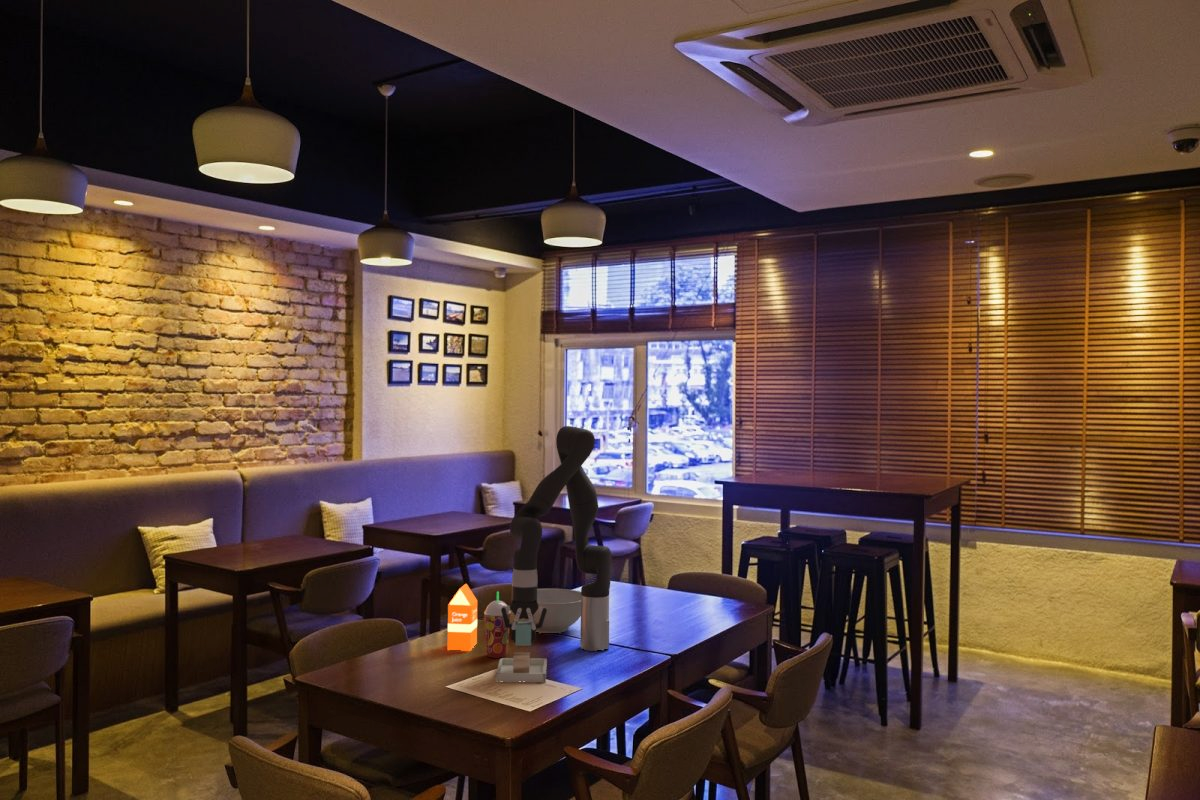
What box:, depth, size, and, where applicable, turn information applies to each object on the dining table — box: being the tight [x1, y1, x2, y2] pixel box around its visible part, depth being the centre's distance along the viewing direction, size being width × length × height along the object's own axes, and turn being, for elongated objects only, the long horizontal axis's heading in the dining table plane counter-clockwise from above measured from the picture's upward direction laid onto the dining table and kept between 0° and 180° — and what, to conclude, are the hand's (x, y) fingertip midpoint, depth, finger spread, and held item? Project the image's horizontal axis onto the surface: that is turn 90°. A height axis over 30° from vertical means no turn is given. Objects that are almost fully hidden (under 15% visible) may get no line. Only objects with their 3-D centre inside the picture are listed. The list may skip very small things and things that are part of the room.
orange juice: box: [446, 583, 479, 652], centre depth 286 cm, size 8×9×20 cm
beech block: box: [513, 651, 531, 673], centre depth 253 cm, size 4×4×6 cm
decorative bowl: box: [521, 588, 581, 634], centre depth 311 cm, size 27×27×12 cm
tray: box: [495, 657, 548, 683], centre depth 257 cm, size 14×16×2 cm
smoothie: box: [483, 591, 512, 659], centre depth 276 cm, size 8×8×20 cm
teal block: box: [514, 621, 532, 647], centre depth 260 cm, size 4×4×6 cm
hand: (523, 641), depth 260 cm, fingers closed on teal block, 4 cm apart
